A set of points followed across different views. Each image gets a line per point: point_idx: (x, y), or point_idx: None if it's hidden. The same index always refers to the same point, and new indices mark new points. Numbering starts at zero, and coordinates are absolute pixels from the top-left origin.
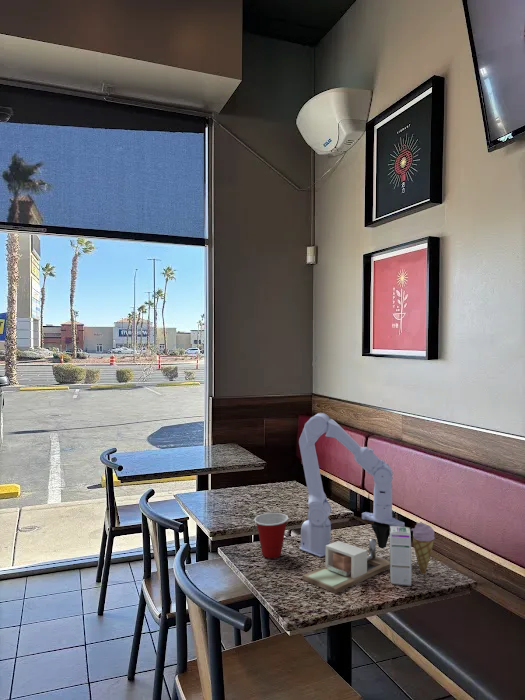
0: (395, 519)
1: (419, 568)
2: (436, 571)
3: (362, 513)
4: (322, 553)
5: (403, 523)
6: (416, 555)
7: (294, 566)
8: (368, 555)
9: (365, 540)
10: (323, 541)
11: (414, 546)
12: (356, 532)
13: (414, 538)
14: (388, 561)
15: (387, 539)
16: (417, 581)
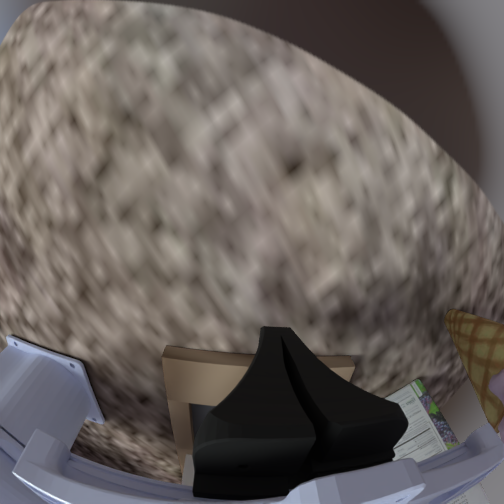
0: (456, 484)
1: (449, 332)
2: (481, 273)
3: (51, 502)
4: (91, 410)
5: (498, 461)
6: (468, 374)
7: (124, 466)
8: (223, 375)
9: (63, 140)
10: (75, 438)
11: (481, 405)
12: (7, 96)
13: (498, 429)
14: (335, 371)
15: (311, 355)
16: (435, 378)
